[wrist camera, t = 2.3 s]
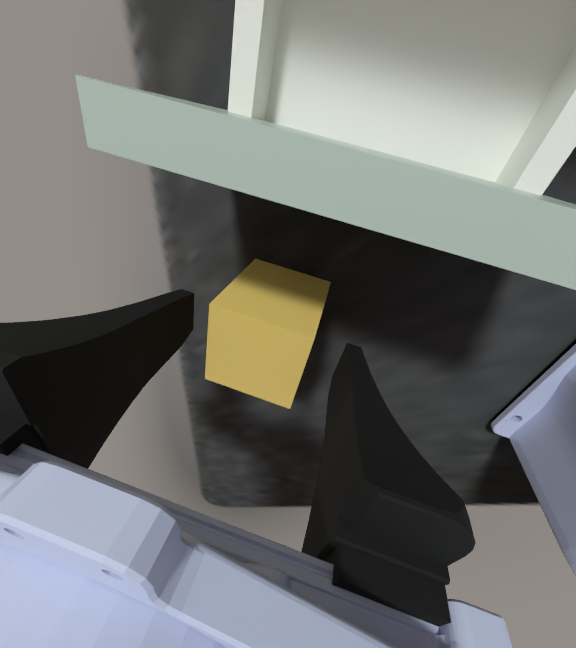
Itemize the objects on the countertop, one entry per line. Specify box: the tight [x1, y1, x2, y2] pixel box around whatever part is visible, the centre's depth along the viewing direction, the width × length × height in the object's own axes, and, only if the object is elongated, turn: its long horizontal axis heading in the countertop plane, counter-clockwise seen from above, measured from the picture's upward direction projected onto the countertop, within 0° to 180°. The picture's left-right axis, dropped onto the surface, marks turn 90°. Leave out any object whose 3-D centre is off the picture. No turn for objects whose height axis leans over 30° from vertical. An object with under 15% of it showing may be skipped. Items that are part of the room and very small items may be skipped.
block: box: [205, 258, 331, 409], centre depth 13 cm, size 4×4×5 cm
